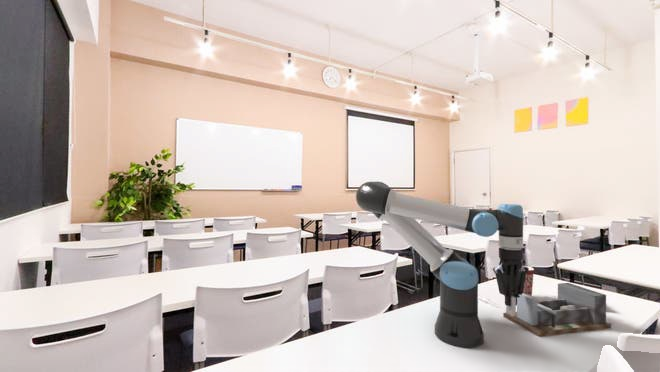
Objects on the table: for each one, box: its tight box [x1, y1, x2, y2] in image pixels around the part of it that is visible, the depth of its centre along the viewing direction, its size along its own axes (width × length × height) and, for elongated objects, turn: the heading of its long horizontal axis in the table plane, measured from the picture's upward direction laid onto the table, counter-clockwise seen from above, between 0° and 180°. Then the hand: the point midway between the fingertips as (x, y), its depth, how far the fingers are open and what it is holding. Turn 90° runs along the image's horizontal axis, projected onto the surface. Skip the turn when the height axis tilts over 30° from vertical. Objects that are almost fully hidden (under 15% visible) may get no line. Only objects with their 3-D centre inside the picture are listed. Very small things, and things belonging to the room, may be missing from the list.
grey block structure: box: [502, 282, 612, 338], centre depth 114 cm, size 30×16×12 cm, turn 102°
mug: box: [523, 265, 535, 297], centre depth 139 cm, size 13×9×14 cm
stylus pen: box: [478, 294, 506, 312], centre depth 131 cm, size 15×3×2 cm, turn 16°
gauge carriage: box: [516, 293, 556, 328], centre depth 110 cm, size 8×11×9 cm
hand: (510, 314), depth 110 cm, fingers closed
